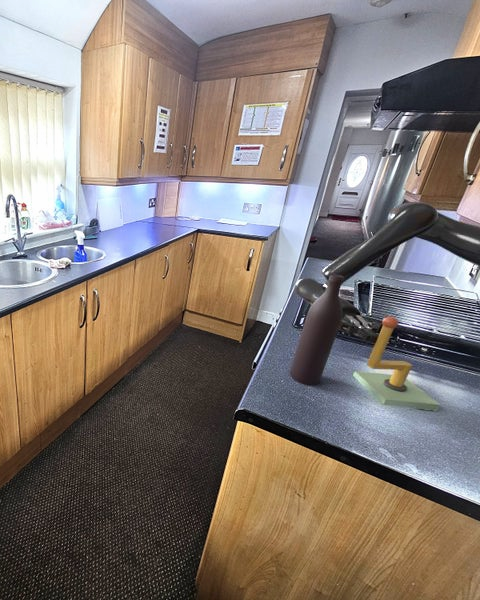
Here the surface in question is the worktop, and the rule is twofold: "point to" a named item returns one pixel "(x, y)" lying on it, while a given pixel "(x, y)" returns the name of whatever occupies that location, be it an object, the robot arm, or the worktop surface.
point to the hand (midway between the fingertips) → (373, 339)
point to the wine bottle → (318, 335)
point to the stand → (395, 391)
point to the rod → (374, 361)
